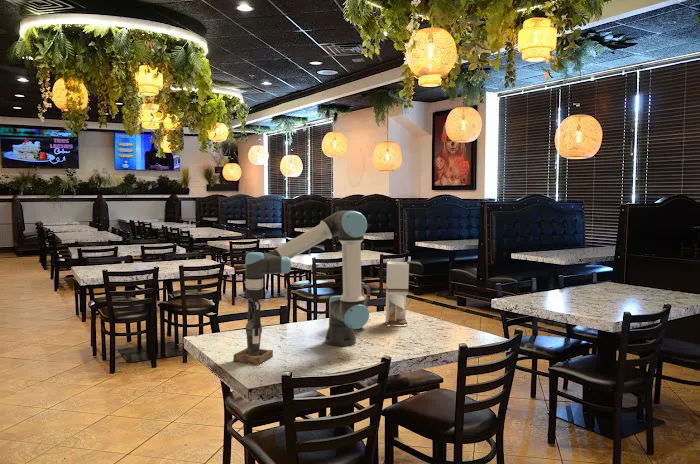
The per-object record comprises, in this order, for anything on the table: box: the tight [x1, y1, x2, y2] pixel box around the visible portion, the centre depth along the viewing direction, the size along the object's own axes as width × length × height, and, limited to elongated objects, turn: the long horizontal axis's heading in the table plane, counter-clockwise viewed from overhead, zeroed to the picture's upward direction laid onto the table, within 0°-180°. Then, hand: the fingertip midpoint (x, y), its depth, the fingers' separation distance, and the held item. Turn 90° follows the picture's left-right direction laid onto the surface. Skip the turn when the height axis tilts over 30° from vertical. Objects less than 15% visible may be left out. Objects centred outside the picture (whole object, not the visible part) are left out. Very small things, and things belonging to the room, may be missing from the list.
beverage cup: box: [245, 319, 263, 356], centre depth 233 cm, size 7×7×20 cm
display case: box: [385, 261, 410, 326], centre depth 306 cm, size 11×11×35 cm
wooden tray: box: [232, 347, 274, 366], centre depth 234 cm, size 12×12×3 cm
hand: (253, 341), depth 234 cm, fingers closed on beverage cup, 7 cm apart
